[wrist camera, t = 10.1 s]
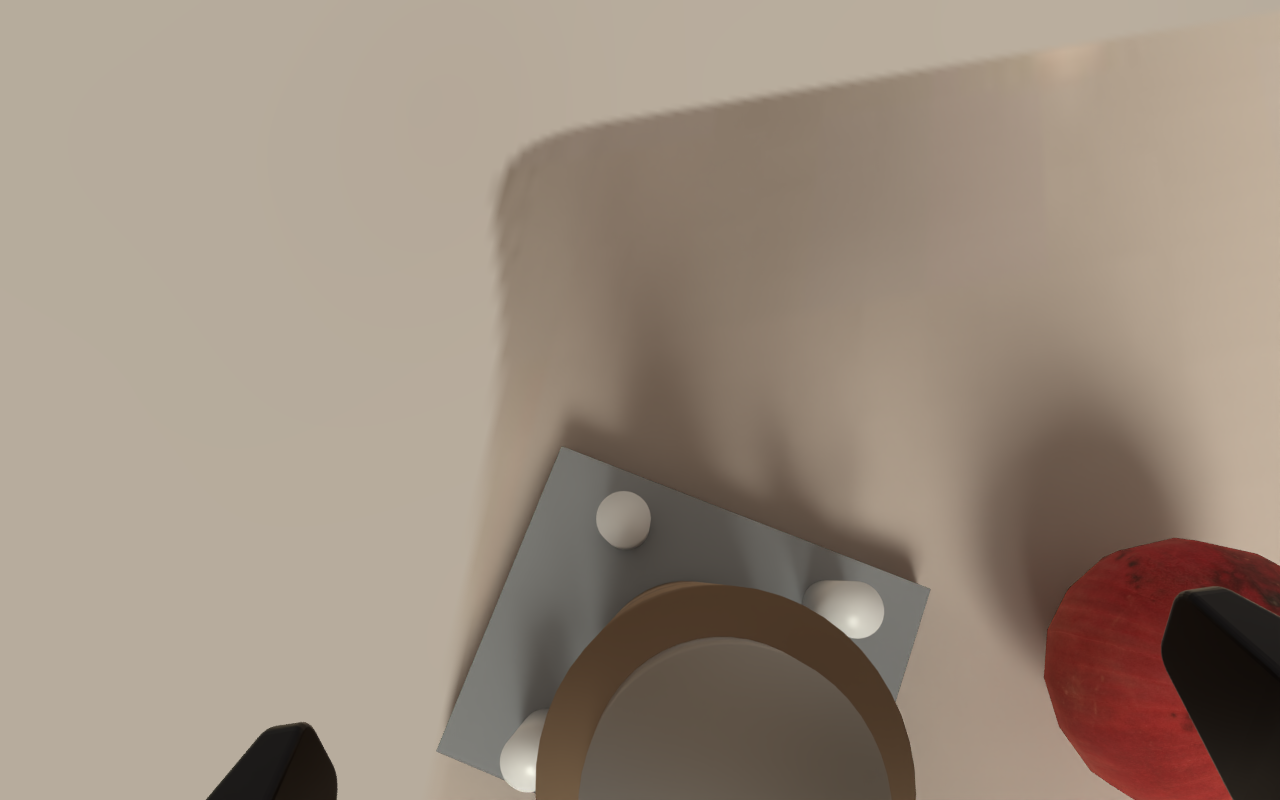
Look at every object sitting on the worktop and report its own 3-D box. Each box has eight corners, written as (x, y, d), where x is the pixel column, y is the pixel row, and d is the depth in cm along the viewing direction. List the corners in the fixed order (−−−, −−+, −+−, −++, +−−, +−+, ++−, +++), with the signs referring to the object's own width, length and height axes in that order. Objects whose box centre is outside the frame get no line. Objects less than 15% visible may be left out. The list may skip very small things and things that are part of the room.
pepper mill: (744, 795, 20) (885, 1126, 8) (571, 730, 20) (455, 954, 8) (797, 615, 21) (998, 668, 9) (630, 557, 21) (603, 531, 9)
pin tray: (819, 900, 21) (861, 977, 17) (445, 743, 21) (401, 780, 17) (917, 588, 22) (977, 591, 18) (565, 451, 23) (549, 426, 19)
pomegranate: (1003, 526, 22) (1197, 500, 15) (1222, 570, 22) (1537, 567, 14) (978, 754, 21) (1174, 859, 13) (1209, 802, 21) (1543, 937, 13)
